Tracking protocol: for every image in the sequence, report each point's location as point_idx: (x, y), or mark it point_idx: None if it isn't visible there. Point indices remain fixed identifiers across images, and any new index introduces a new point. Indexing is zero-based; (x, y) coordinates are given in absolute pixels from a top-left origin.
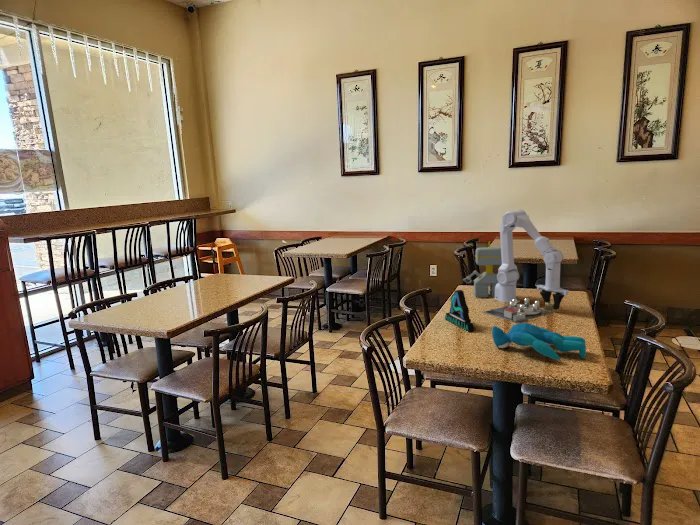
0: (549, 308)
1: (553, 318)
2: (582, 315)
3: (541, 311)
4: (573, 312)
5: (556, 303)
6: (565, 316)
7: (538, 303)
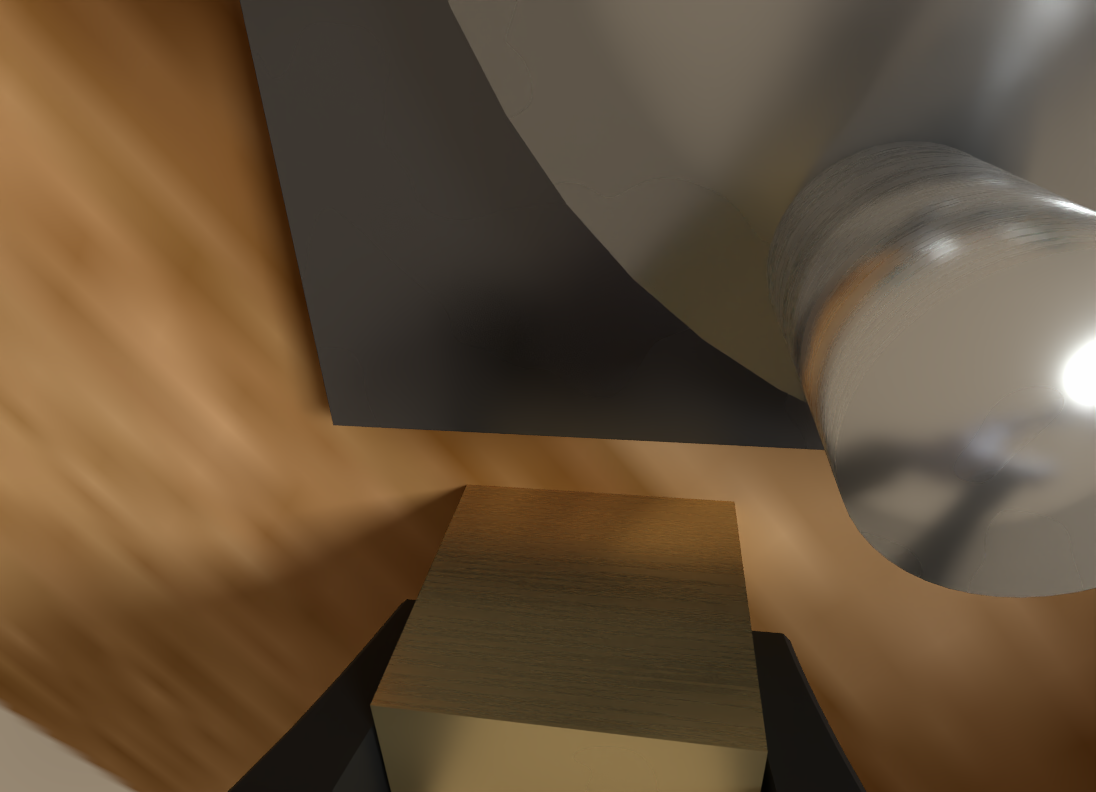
0: (560, 569)
1: (8, 36)
2: (66, 691)
3: (512, 93)
4: None
5: (258, 781)
6: (96, 451)
7: (833, 321)
